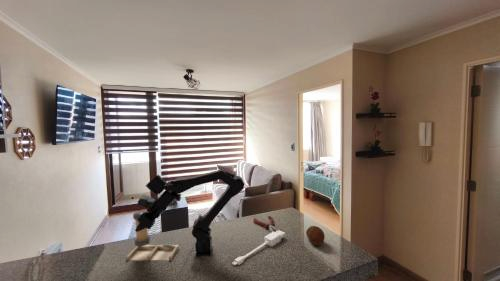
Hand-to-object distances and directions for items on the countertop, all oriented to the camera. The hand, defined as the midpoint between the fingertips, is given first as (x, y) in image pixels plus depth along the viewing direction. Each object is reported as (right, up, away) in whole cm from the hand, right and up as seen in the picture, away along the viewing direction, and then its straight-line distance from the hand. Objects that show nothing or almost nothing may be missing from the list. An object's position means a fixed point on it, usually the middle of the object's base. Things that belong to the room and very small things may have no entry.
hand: (138, 228), depth 94 cm
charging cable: (+53, -12, +6) cm, 55 cm away
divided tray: (+6, -13, +1) cm, 14 cm away
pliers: (+57, -11, +29) cm, 65 cm away
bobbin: (+1, -7, +1) cm, 7 cm away
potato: (+80, -11, +11) cm, 81 cm away
